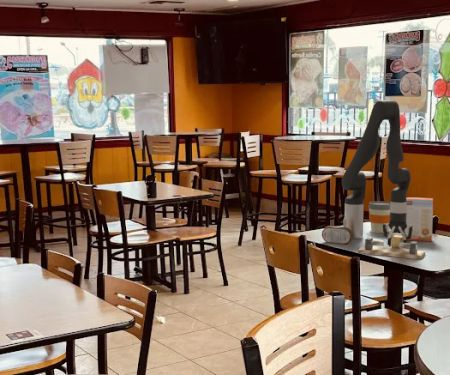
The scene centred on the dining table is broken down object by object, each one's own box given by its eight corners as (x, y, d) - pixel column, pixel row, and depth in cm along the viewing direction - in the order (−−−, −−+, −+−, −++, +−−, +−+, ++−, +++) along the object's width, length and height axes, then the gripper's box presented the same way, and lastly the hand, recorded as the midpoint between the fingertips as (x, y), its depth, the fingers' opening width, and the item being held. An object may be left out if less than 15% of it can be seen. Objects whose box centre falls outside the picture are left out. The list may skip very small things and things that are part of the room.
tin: (353, 244, 334) (353, 227, 333) (351, 245, 332) (351, 228, 330) (322, 241, 341) (323, 224, 340) (320, 242, 338) (321, 225, 337)
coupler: (400, 250, 320) (400, 238, 319) (391, 249, 322) (391, 237, 321) (402, 248, 325) (403, 236, 324) (394, 247, 326) (394, 235, 326)
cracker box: (432, 239, 345) (433, 197, 342) (431, 241, 339) (433, 199, 337) (403, 237, 350) (404, 196, 347) (402, 240, 344) (403, 198, 341)
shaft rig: (358, 253, 315) (358, 238, 314) (364, 248, 324) (364, 235, 323) (420, 259, 303) (421, 244, 302) (425, 254, 312) (425, 240, 311)
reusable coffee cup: (394, 233, 360) (395, 204, 358) (370, 233, 361) (371, 204, 359) (389, 228, 373) (390, 201, 371) (365, 228, 373) (366, 201, 371)
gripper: (380, 211, 321) (379, 247, 323) (412, 213, 314) (411, 250, 317) (384, 209, 327) (383, 244, 330) (415, 211, 321) (414, 246, 323)
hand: (397, 246), depth 323 cm, fingers open, 6 cm apart
